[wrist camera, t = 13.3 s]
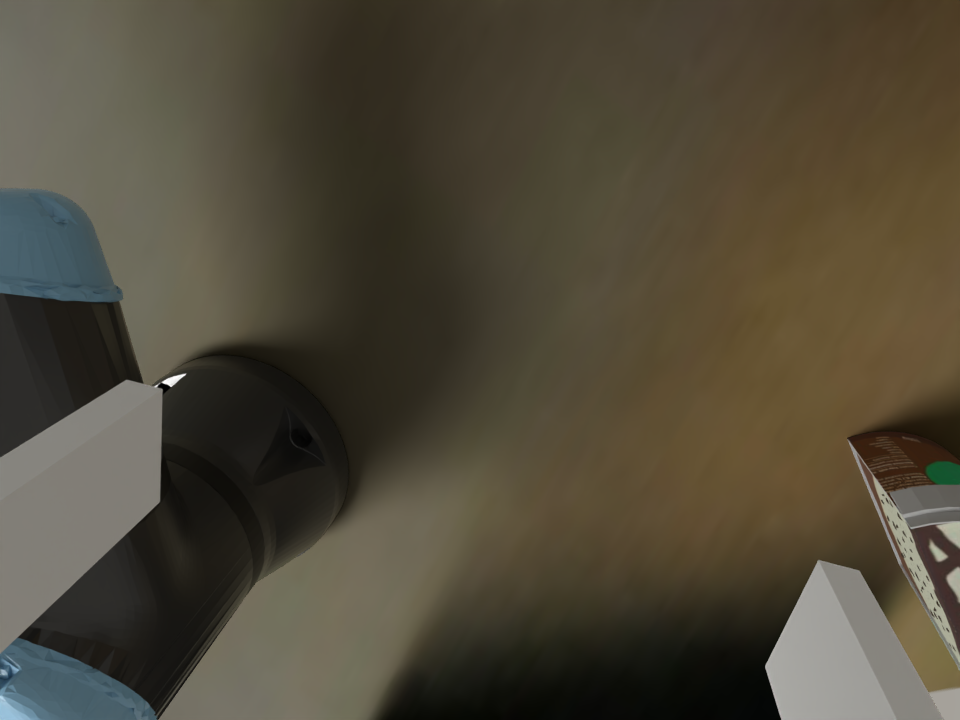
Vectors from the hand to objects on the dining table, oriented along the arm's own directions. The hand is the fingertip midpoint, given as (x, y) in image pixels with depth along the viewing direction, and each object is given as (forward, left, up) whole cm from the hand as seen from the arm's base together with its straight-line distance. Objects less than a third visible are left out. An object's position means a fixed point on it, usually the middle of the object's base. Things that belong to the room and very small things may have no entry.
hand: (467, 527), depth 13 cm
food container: (+24, -7, -27) cm, 37 cm away
